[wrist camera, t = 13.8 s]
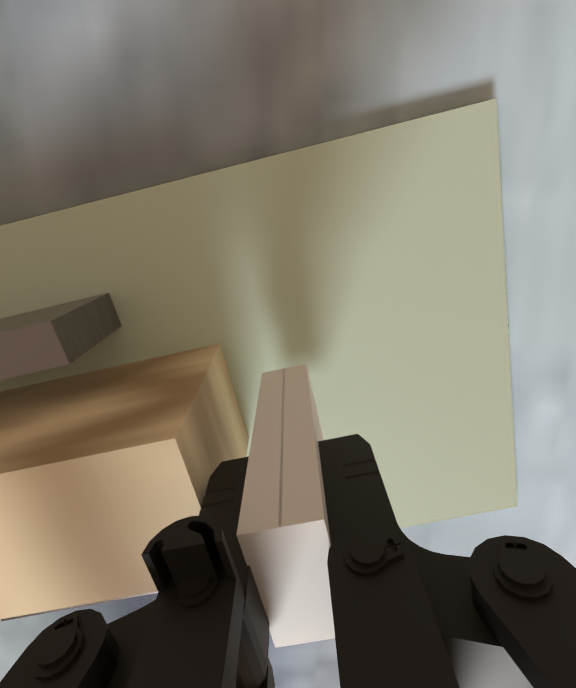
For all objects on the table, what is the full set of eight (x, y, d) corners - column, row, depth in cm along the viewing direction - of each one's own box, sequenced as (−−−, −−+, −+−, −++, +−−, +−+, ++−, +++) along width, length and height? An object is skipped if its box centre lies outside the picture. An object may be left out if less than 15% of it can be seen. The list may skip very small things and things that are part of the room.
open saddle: (57, 538, 17) (1, 621, 13) (-56, 331, 14) (-164, 371, 10) (194, 512, 16) (170, 590, 13) (109, 292, 13) (50, 321, 10)
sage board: (-169, 626, 19) (-178, 635, 18) (-422, 335, 14) (-441, 338, 14) (512, 499, 17) (517, 506, 16) (489, 101, 12) (496, 98, 11)
